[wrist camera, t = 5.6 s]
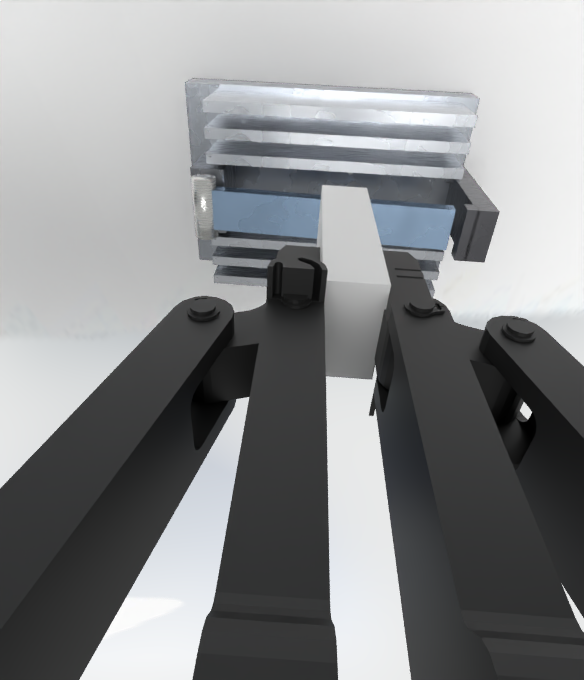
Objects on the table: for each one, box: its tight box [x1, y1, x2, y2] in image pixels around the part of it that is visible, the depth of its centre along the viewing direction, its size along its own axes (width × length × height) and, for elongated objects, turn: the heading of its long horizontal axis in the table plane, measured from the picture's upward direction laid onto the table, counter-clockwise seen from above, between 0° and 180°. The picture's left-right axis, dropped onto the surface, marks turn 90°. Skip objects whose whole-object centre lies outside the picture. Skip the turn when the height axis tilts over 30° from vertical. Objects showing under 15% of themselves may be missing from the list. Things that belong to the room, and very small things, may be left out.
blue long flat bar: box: [191, 174, 456, 250], centre depth 28 cm, size 15×4×1 cm, turn 88°
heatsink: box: [185, 78, 499, 298], centre depth 30 cm, size 19×12×9 cm, turn 88°
